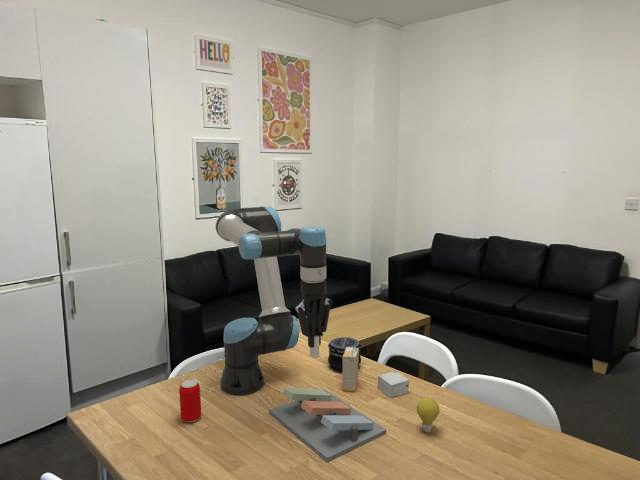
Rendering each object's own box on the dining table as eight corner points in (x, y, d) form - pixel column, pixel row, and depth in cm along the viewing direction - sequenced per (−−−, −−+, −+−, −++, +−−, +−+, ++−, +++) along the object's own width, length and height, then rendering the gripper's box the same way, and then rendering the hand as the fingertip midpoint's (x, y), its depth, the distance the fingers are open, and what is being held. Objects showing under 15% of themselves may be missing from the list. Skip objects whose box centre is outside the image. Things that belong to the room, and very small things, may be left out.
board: (269, 413, 152) (269, 398, 151) (324, 392, 165) (324, 378, 164) (327, 462, 128) (327, 444, 127) (386, 433, 141) (386, 417, 140)
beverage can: (205, 416, 150) (203, 380, 148) (192, 426, 145) (190, 389, 143) (190, 411, 153) (188, 376, 151) (176, 421, 147) (174, 385, 145)
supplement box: (355, 392, 164) (356, 357, 162) (342, 391, 165) (342, 356, 163) (358, 381, 172) (359, 347, 170) (345, 380, 173) (345, 346, 171)
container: (324, 361, 189) (324, 337, 187) (355, 358, 192) (355, 334, 190) (332, 376, 177) (332, 350, 175) (365, 372, 180) (366, 347, 178)
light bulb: (439, 425, 145) (441, 395, 143) (437, 438, 139) (438, 406, 137) (417, 421, 147) (418, 391, 145) (414, 433, 141) (415, 402, 139)
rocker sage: (281, 394, 151) (283, 387, 151) (319, 396, 161) (321, 389, 161) (291, 402, 146) (293, 394, 146) (330, 403, 156) (332, 395, 156)
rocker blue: (319, 423, 135) (322, 414, 135) (359, 423, 145) (361, 415, 145) (331, 432, 131) (334, 423, 131) (372, 431, 140) (374, 423, 140)
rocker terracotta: (299, 408, 143) (301, 400, 143) (338, 409, 153) (340, 401, 153) (310, 416, 138) (312, 408, 138) (350, 416, 148) (352, 408, 148)
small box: (390, 398, 161) (390, 384, 160) (377, 388, 168) (377, 375, 167) (408, 393, 164) (409, 379, 163) (395, 383, 171) (395, 370, 170)
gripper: (303, 286, 132) (304, 366, 136) (338, 278, 140) (339, 354, 144) (287, 281, 138) (289, 358, 142) (322, 274, 146) (323, 347, 150)
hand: (314, 356), depth 143 cm, fingers closed
